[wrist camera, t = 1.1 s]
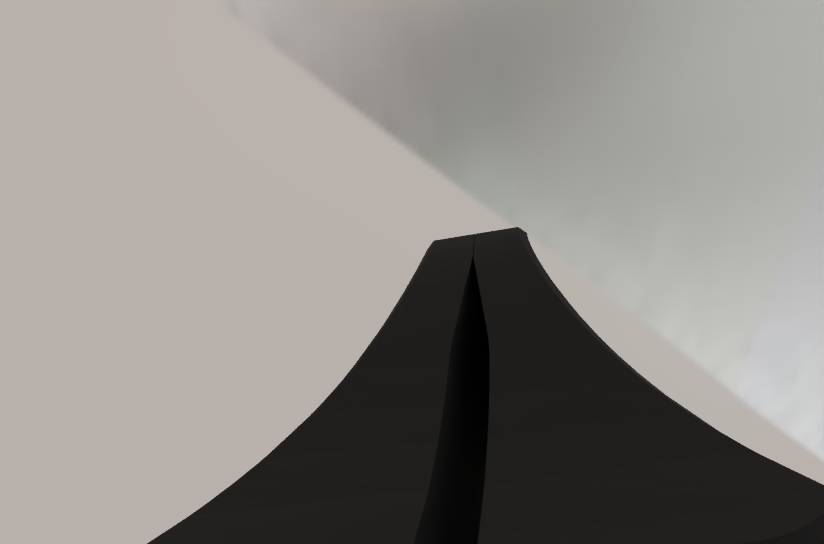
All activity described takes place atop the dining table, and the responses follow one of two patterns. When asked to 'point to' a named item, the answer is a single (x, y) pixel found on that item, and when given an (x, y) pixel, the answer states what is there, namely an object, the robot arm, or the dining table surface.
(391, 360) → the robot arm
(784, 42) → the dining table surface
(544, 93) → the dining table surface
